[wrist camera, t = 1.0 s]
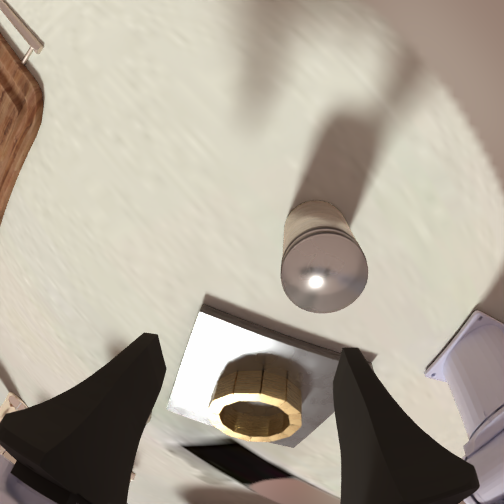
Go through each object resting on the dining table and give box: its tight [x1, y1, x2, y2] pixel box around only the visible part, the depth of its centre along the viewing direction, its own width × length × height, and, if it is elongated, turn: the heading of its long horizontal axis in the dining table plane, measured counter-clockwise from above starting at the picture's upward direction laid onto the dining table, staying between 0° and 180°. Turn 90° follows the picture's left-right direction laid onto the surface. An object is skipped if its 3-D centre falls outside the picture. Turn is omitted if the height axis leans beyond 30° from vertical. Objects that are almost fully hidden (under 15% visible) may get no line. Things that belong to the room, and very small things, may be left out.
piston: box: [281, 200, 368, 313], centre depth 16 cm, size 4×4×6 cm
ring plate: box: [166, 304, 374, 448], centre depth 24 cm, size 15×15×4 cm
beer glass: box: [0, 392, 28, 455], centre depth 34 cm, size 7×7×15 cm
